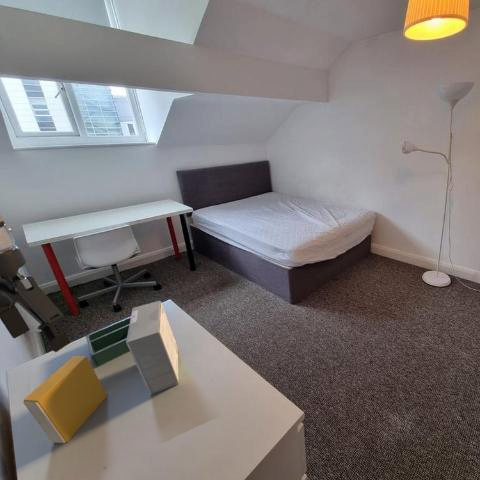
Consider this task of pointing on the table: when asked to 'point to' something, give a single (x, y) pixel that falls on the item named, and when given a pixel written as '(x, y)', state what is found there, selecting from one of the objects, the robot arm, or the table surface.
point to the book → (66, 399)
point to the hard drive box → (153, 347)
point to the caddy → (109, 342)
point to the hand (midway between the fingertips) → (41, 340)
